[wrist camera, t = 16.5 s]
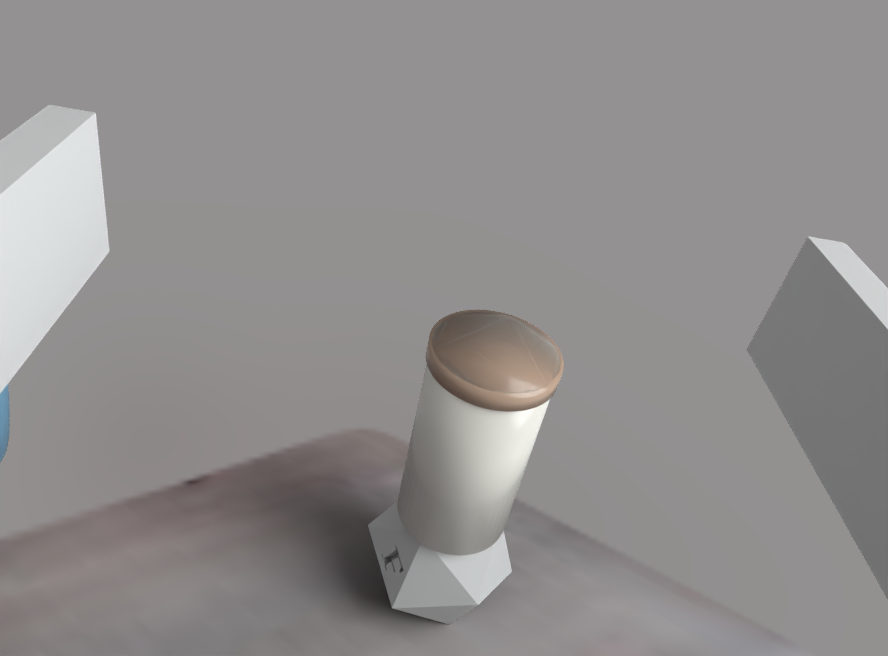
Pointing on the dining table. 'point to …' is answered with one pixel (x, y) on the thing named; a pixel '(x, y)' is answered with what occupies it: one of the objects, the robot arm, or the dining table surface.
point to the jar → (475, 428)
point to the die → (434, 572)
